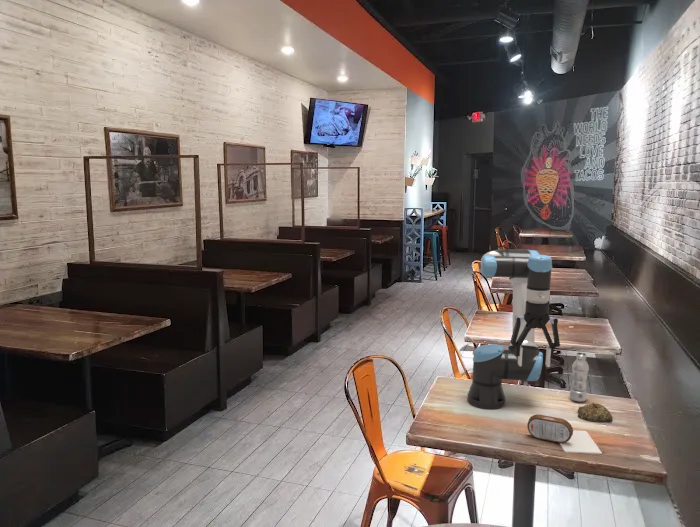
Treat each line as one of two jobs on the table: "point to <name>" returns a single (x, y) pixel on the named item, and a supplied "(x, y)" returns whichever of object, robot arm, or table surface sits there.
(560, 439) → the tin
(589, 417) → the mossy rock
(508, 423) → the table surface
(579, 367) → the plastic bottle
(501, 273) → the robot arm
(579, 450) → the rubber mat
